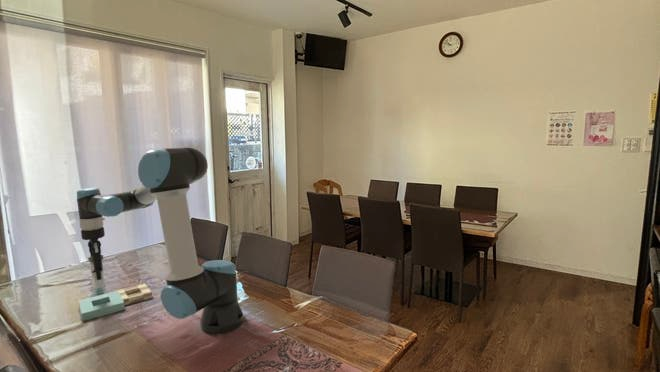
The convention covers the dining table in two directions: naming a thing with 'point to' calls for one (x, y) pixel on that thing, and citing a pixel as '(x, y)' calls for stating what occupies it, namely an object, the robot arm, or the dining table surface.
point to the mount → (135, 294)
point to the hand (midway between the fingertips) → (98, 284)
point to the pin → (96, 290)
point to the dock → (101, 305)
